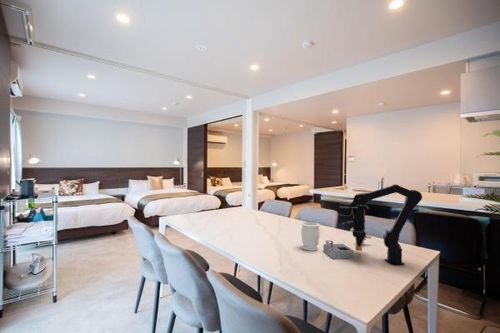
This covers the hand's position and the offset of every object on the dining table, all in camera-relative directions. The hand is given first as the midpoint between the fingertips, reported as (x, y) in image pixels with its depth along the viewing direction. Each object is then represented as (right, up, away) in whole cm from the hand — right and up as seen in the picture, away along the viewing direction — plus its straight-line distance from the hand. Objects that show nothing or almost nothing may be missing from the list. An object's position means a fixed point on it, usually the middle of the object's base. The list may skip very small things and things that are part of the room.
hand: (358, 245), depth 131 cm
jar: (-23, -6, +13) cm, 27 cm away
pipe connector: (+12, -7, +21) cm, 25 cm away
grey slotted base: (-10, -6, +3) cm, 12 cm away
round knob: (0, -2, 0) cm, 2 cm away
